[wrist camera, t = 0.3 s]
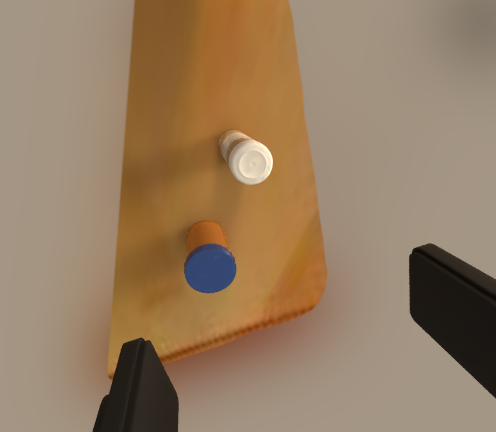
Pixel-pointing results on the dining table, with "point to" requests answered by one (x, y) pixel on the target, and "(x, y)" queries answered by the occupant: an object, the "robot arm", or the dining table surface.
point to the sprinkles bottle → (245, 157)
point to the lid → (210, 268)
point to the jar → (205, 236)
